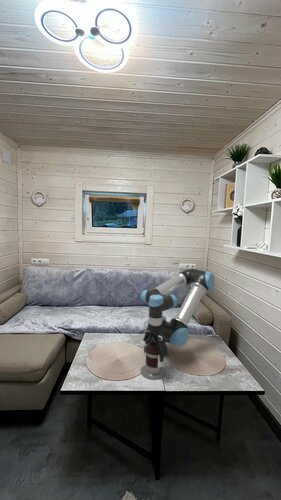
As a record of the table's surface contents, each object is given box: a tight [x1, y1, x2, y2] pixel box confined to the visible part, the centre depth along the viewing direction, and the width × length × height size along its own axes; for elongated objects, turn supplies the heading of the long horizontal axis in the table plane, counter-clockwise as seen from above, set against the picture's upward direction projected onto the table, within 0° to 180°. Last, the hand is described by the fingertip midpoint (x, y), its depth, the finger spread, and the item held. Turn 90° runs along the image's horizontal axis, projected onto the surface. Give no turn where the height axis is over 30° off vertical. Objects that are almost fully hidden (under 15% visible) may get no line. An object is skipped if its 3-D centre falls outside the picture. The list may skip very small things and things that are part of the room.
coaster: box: [140, 364, 167, 381], centre depth 139 cm, size 14×14×1 cm
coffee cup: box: [144, 342, 160, 374], centre depth 138 cm, size 10×10×15 cm
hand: (153, 360), depth 138 cm, fingers open, 13 cm apart
